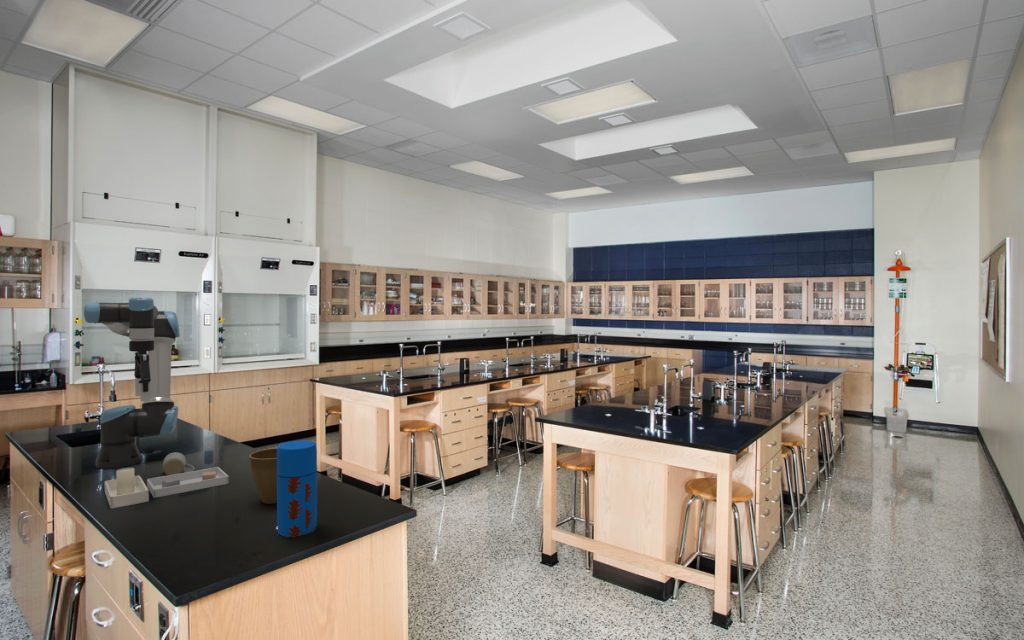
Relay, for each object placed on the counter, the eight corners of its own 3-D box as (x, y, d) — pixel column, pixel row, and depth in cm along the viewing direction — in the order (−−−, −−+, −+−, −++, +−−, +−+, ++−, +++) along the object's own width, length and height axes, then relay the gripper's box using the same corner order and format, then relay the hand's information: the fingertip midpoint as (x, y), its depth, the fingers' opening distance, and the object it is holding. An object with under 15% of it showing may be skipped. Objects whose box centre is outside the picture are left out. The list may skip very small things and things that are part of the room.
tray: (146, 487, 197) (146, 479, 197) (218, 474, 212) (218, 466, 212) (153, 498, 185) (153, 489, 185) (228, 484, 200) (228, 476, 200)
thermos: (284, 523, 165) (284, 440, 164) (321, 522, 166) (320, 440, 165) (271, 538, 154) (271, 450, 153) (310, 537, 155) (310, 449, 154)
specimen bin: (104, 492, 191) (104, 481, 191) (139, 486, 198) (139, 475, 198) (110, 509, 175) (110, 497, 175) (148, 502, 182) (148, 490, 182)
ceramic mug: (162, 478, 207) (162, 458, 207) (163, 472, 214) (163, 453, 214) (194, 474, 212) (194, 455, 212) (194, 469, 219) (194, 450, 219)
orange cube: (204, 483, 201) (203, 472, 200) (216, 482, 202) (216, 471, 202) (202, 486, 197) (202, 475, 197) (214, 485, 198) (214, 474, 198)
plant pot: (305, 500, 185) (305, 452, 184) (260, 511, 174) (259, 461, 174) (287, 489, 195) (286, 444, 195) (243, 499, 184) (242, 452, 184)
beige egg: (133, 492, 190) (133, 466, 190) (135, 496, 186) (135, 470, 186) (116, 495, 187) (115, 469, 186) (117, 499, 183) (117, 473, 183)
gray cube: (162, 491, 191) (162, 480, 191) (174, 488, 194) (174, 477, 194) (167, 494, 189) (167, 482, 189) (179, 491, 192) (179, 479, 192)
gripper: (125, 338, 205) (125, 395, 206) (133, 342, 186) (134, 404, 187) (148, 337, 210) (149, 392, 211) (159, 341, 191) (160, 402, 192)
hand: (142, 398), depth 199 cm, fingers open, 13 cm apart
